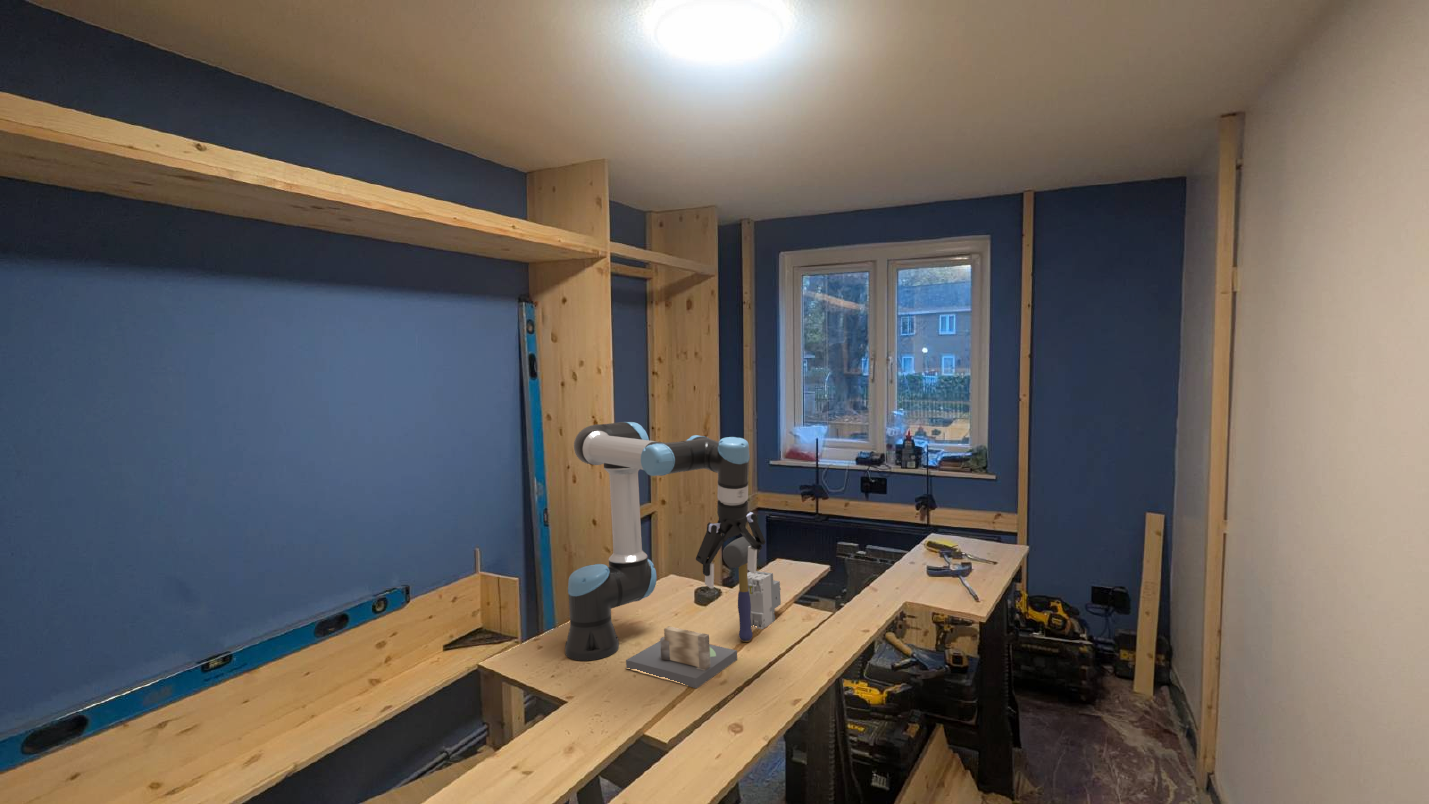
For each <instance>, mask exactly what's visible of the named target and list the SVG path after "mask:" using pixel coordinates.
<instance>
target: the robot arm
mask: <svg viewBox="0 0 1429 804" xmlns="http://www.w3.org/2000/svg"><path fill="white" fill-rule="evenodd" d="M574 438H575V439H574V442H573V451H574V454H575V456H576V457H577V459H578V460H579V461H581V463H585V464H587V465H592V466H601V465H603V469H604V471H606V472H607V473H608V475H609V476H608V477H609V478H608V479H609V492H610V497H609V498H610V511H611V529H612V530H611V531H612V547H613V548H612V550H613V551H612V552H613V553H612V554H611V555H610V556H609V557H608V565H606V564H602V563H596V564H590V565H585V566H582V567H579V568H578V569H575V570H574V571H573V572H572V573H571V574H570V575H569V577H568V582H567V583H568V584H567V585H568V587H567V593H568V604H569V606H568V609H569V620H570V621H569V622H570V623H569V629H568V632H567V633H568V634H567V640H566V641H565V646H564V649H565V656H566V657H567V658H569V659H570V660H574V661H575V660H576V661H580V662H581V661H584V662H585V661H594V660H595V661H596V660H601V659H604V658H606V657H609V656H612V655H614V654H615V653H616V652H617V651H618V650H619V647H620V644H619V642H620V641H619V637H618V635H617V633H616V629H615V627H614V624H613V621H612V609H614V608H618V607H622V606H624V605H628V604H630V603H634V602H635V603H636V602H639V601H641V600H643V599H646V598H648V597H649V596H651V594H652V593H653V592H654V590H655V589H656V585H657V571H656V568H655V567H654V566H655V565H654V563H653V562H652V560H651V559H649V558H648V554H647V553H646V552H645V551H644V550H643V545H642V526H641V525H642V524H641V506H640V488H639V486H640V485H639V471H640V470H642V471H644V472H645V473H646V475H648V476H651V477H655V476H656V477H657V476H660V477H662V476H666V475H670V474H677V473H684V472H689V471H695V470H703V469H704V470H708V471H711V472H713V473H715V474H716V473H717V495H716V496H717V517H718V520H717V522H715V523H712V522H707V525H706V532H705V534H704V537H703V539H702V541H701V544H700V547H699V548H698V549H699V550H698V551H697V555H696V557H695V560H696V562H698V563H700V564H701V565H702V574H703V575H704V585H705V586H706V587H708V588H709V589H714V588H715V587H714V584H715V581H714V580H715V563H714V562H713V561H714V559H715V558H716V556H717V554H718V552H719V551H720V549H722V547H723V545H724V543H725V542H727V541H728V539H731V538H733V537H734V536H735V537H737V536H740V535H742V537H744V538H745V539H746V540H747V541H748V542H749V543H750V544H751V545H752V547H751V546H749V547H748V563H747V571H748V572H752V573H754V574H755V573H756V571H757V564H758V563H757V560H759V554H760V552H759V550H760V551H761V550H762V548H763V546H764V545H765V544H766V539H765V537H764V534H763V533H762V531H761V528H760V526H759V523H758V519H757V514H756V513H754V512H752V511H750V510H748V509H749V508H748V507H749V502H748V500H749V475H750V474H749V472H750V471H749V468H750V458H751V457H750V455H751V454H750V446H749V442H748V440H746V439H745V438H743V437H736V436H729V437H723V438H721V439H719V441H717V440H715V439H712V438H709V437H707V436H704V435H697V434H695V435H691V436H690V437H689V438H687V439H686V440H681V441H672V442H669V441H668V442H664V441H663V442H662V441H656V440H655V441H654V440H650V439H649V436H648V433H647V431H646V429H644V427H643V426H642V425H641V424H639V423H637V422H633V421H620V422H613V423H602V424H599V423H598V424H592V425H588V426H586V427H584V428H583V429H582V430H580V431H579V432H578V434H577V435H576V437H574ZM747 524H748V525H749V528H750V530H751V532H752V534H753V535H752V534H751V533H750V532H749V530H748V529H747V528H746V527H745V526H746V525H747ZM753 536H754V537H755V539H756V540H755V539H754V538H753ZM762 545H763V546H762ZM758 553H759V554H758Z"/></svg>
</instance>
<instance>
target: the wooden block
mask: <svg viewBox="0 0 1429 804" xmlns="http://www.w3.org/2000/svg"><path fill="white" fill-rule="evenodd" d="M663 634H664V636H662V637H660V638H659V641H660V646H661V659H662V660H672V661H676V662H680V663H684V664H688V665H692V666H696V667H699V668H703V669H707V668H708V667H710V645H709V644H710V634H709V633H708V634H707V633H703V632H702V633H701V632H697V631H692V630H688V629H683V628H678V627H674V626H667V627H665V628H664V629H663Z"/></svg>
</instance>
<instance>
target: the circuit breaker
mask: <svg viewBox="0 0 1429 804" xmlns="http://www.w3.org/2000/svg"><path fill="white" fill-rule="evenodd" d="M747 577H748V591H749V595H750V602H751V614H750V619H751V626H753V625H754V627H755V626H757V628H756V629H758V630H764V629H766V628H767V627H768V626H770V625H771V624H773V623H775V621H776V614H775V610H776V609H777V607H779V606H781V604H782V601H781V590H782V589H781V583H780V581H779V580H774V573H773V572H766V571H758V570H756V573H755V574H754V573H752V572H750V571H747Z"/></svg>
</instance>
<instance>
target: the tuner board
mask: <svg viewBox="0 0 1429 804" xmlns="http://www.w3.org/2000/svg"><path fill="white" fill-rule="evenodd" d="M709 645H710V667H708V668H707V669H703V668H699V667H696V666H692V665H688V664H684V663H680V662H676V661H672V660H662V659H661V646H660V640H659V641H657V642H655V643H654V644H651V645H650V646H648V647H647V648H645V649H643V650H641V651H639V652H638V653H636V654H634V655H633V656H631V657H628V658H627V659H626V660H625V669H626V668H630V669H637V670H640V671H643V672H646V673H649V674H653V675H656V676H659V677H665V678H668V679H670V680H674V681H677V682H680V683H683V684H685V685H688V686H687V687H690V688H693V689H698V688H699V687H701V686H702V685H704V684H705V683H707V682H708V681H709V680H711V679H712V678H713V677H715V676H716V675H718V674H719V673H720V672H722V671H723V670H725V669H727V668H728V667H729V666H731V665H732V664H734V662H737V660H738V649H737V650H736V649H733V648H729V647H723V646H720V645H716V644H711V643H709ZM685 685H684V686H685Z"/></svg>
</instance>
